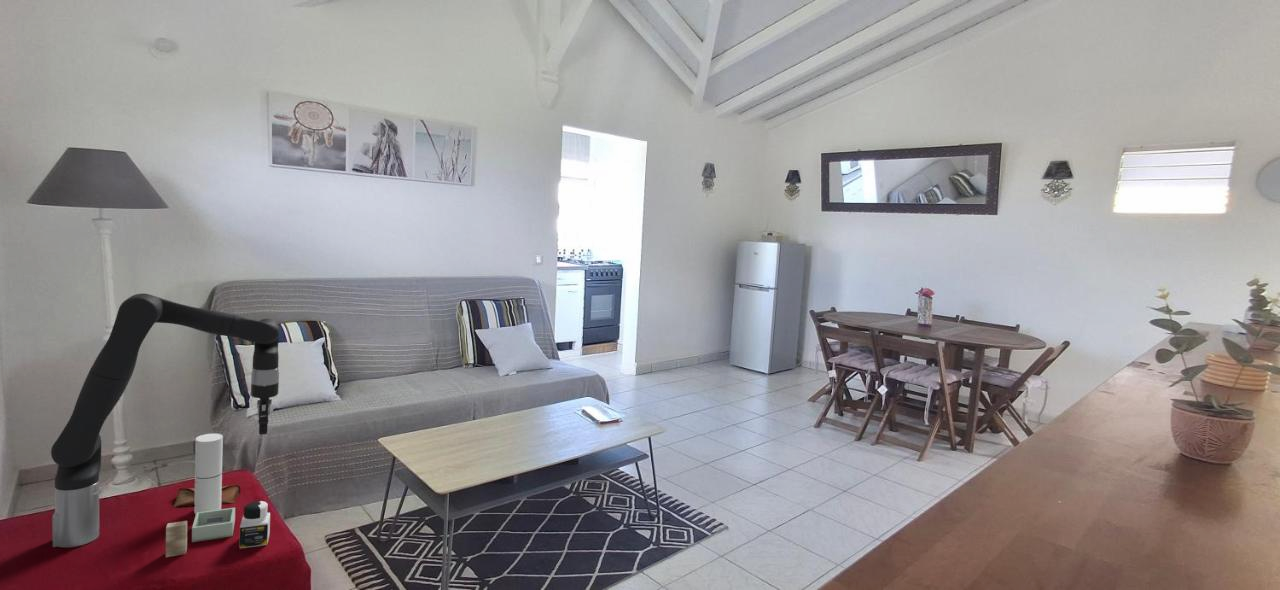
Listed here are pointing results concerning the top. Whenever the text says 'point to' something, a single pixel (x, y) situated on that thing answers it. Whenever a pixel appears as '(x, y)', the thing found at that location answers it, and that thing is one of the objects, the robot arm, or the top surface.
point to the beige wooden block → (176, 538)
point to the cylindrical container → (208, 472)
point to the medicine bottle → (255, 525)
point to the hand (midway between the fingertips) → (263, 429)
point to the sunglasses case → (188, 495)
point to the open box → (213, 524)
